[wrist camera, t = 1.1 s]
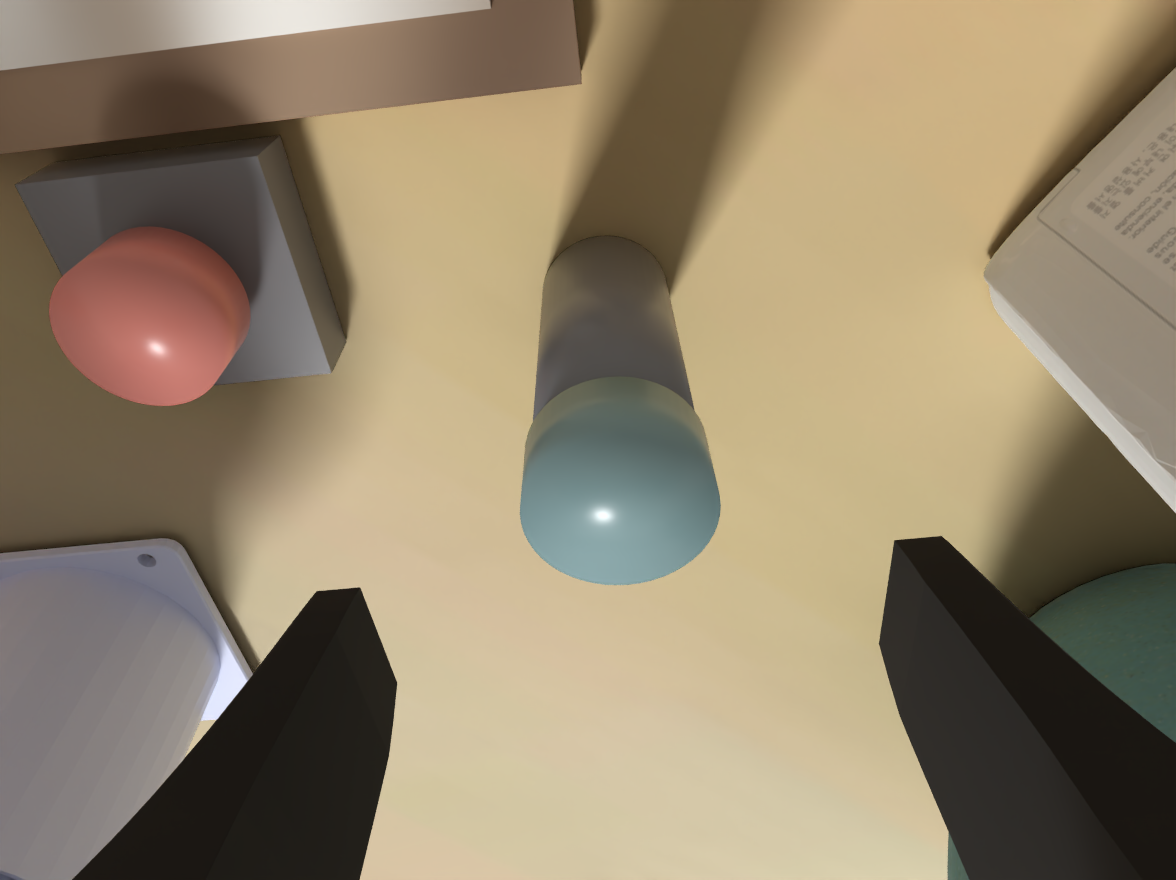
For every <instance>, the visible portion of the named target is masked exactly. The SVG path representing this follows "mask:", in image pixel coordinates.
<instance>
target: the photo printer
mask: <svg viewBox="0 0 1176 880" xmlns="http://www.w3.org/2000/svg"><path fill="white" fill-rule="evenodd" d="M984 279H985V281H986V282H987V283H988V285H989V291H990V296H991V300H992V303H993V306H994V308H995V309H996V311H997V313H998V314H999V316H1000V317H1001V318H1002V320H1003V321H1004V322H1005V323H1006V324H1007V326H1008V327H1009V328H1010V329H1011V330H1012V331H1013V332H1014V333H1015V334H1016V336H1017V337H1018V338H1019V339H1020V340H1021V341H1022V342H1023V343H1024V345H1025V346H1026V347H1027V348H1028V349H1029V350H1030V351H1031V352H1032V354H1033V355H1034V356H1035V357H1036V358H1037V359H1038V360H1039V361H1040V363H1041V364H1042V365H1043V366H1044V367H1045V368H1046V369H1047V370H1048V372H1049V373H1050V374H1051V375H1052V376H1053V377H1054V378H1055V379H1056V381H1057V382H1058V383H1059V384H1060V385H1061V386H1062V387H1063V388H1064V389H1065V391H1066V392H1067V393H1068V394H1069V395H1070V396H1071V397H1072V398H1073V399H1074V400H1075V402H1076V403H1077V404H1078V405H1079V406H1080V407H1081V408H1082V409H1083V410H1084V411H1085V413H1086V414H1087V415H1088V416H1089V417H1090V418H1091V420H1092V421H1093V422H1094V423H1095V424H1096V425H1097V426H1098V427H1099V428H1100V429H1101V430H1102V431H1103V432H1104V433H1105V434H1106V435H1107V436H1108V438H1109V439H1110V440H1111V441H1112V443H1113V444H1114V445H1115V446H1116V448H1117V449H1118V450H1119V451H1120V452H1121V453H1122V454H1123V456H1124V457H1125V458H1126V459H1127V460H1128V461H1129V462H1130V463H1131V464H1132V465H1133V467H1134V468H1135V469H1136V470H1137V471H1138V472H1139V473H1140V474H1141V475H1142V476H1143V478H1144V479H1145V480H1146V481H1147V482H1148V483H1149V484H1150V485H1151V486H1152V487H1153V489H1154V490H1155V491H1156V492H1157V493H1158V494H1159V495H1160V496H1161V497H1162V499H1163V500H1164V501H1165V502H1166V503H1167V504H1168V505H1169V506H1170V507H1171V509H1172V510H1173V511H1174V512H1175V513H1176V68H1174V69H1173V70H1172V71H1171V72H1170V73H1169V74H1168V75H1167V76H1166V77H1165V78H1164V79H1163V80H1162V81H1161V82H1160V83H1159V84H1158V85H1157V86H1156V87H1155V88H1154V89H1153V90H1152V91H1151V92H1150V93H1149V94H1148V95H1147V96H1146V97H1145V98H1144V99H1143V100H1142V101H1141V102H1140V103H1139V104H1138V105H1137V106H1136V107H1135V108H1134V109H1133V110H1132V111H1131V112H1130V113H1129V114H1128V115H1127V116H1126V117H1125V118H1124V119H1123V120H1122V121H1121V122H1120V123H1119V124H1118V125H1117V126H1116V127H1115V128H1114V129H1113V130H1112V131H1111V132H1110V133H1109V134H1108V135H1107V136H1106V137H1105V138H1104V139H1103V140H1102V141H1101V142H1100V143H1099V144H1098V145H1097V146H1096V147H1094V148H1093V149H1092V150H1091V151H1090V152H1089V153H1088V154H1087V155H1086V156H1085V158H1084V159H1083V160H1082V161H1081V162H1080V163H1079V164H1078V165H1077V166H1076V167H1075V168H1074V169H1073V170H1071V171H1070V172H1069V173H1068V174H1067V175H1066V176H1065V177H1064V178H1063V179H1062V180H1061V181H1060V182H1059V183H1058V184H1057V185H1056V186H1055V187H1054V189H1053V190H1052V191H1051V192H1050V193H1049V194H1048V195H1047V196H1046V197H1045V198H1044V199H1043V200H1042V201H1041V202H1040V203H1039V204H1038V205H1037V206H1036V207H1035V208H1034V209H1033V210H1032V212H1031V213H1030V214H1029V215H1028V216H1027V217H1026V218H1025V219H1024V220H1023V221H1022V222H1021V223H1020V224H1019V225H1018V226H1017V228H1016V229H1015V230H1014V231H1013V232H1012V233H1011V234H1010V236H1009V237H1008V238H1007V239H1006V240H1005V242H1004V243H1003V244H1002V245H1001V246H1000V248H999V249H998V250H997V251H996V253H995V254H994V255H993V257H992V258H991V260H990V261H989V263H988V264H987V266H986V268H985V271H984Z"/></svg>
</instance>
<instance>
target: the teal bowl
mask: <svg viewBox="0 0 1176 880" xmlns="http://www.w3.org/2000/svg"><path fill="white" fill-rule="evenodd" d="M1029 619H1030V620H1031V621H1032V622H1033V623H1034V624H1035V625H1036V626H1038V627H1039V628H1040V629H1041V630H1042V631H1043V632H1044V633H1045V634H1046V635H1047V636H1049V637H1050V638H1051V639H1052V640H1053V641H1054V642H1055V643H1057V644H1058V645H1059V646H1060V647H1061V648H1062V649H1063V650H1064V651H1066V652H1067V653H1068V654H1069V655H1070V656H1071V657H1072V658H1073V659H1075V660H1076V661H1077V662H1078V663H1079V664H1080V665H1081V666H1083V667H1084V668H1085V669H1086V670H1087V671H1088V672H1089V673H1091V674H1092V675H1093V676H1094V677H1095V678H1096V679H1098V680H1099V681H1100V682H1101V683H1102V684H1104V685H1105V686H1106V687H1107V688H1108V689H1109V690H1111V691H1112V692H1113V693H1114V694H1115V695H1117V696H1118V697H1119V698H1120V699H1122V700H1123V701H1124V702H1125V703H1126V704H1128V705H1129V706H1130V707H1131V708H1133V709H1134V710H1135V711H1136V712H1138V713H1139V714H1140V715H1141V716H1142V717H1144V718H1145V719H1146V720H1147V721H1149V722H1150V723H1151V724H1152V725H1154V726H1155V727H1156V728H1157V729H1159V730H1160V731H1161V732H1163V733H1164V734H1165V735H1166V736H1168V737H1169V738H1170V739H1172V740H1173V741H1174V742H1175V743H1176V563H1163V564H1155V565H1147V566H1142V567H1137V568H1132V569H1127V570H1123V571H1120V572H1117V573H1114V574H1110V575H1107V576H1104V577H1101V578H1098V579H1096V580H1093V581H1091V582H1088V583H1086V584H1083V585H1081V586H1078V587H1076V588H1075V589H1073V590H1071V591H1069V592H1067V593H1065V594H1063V595H1062V596H1060V597H1058V598H1057V599H1055V600H1053V601H1052V602H1050V603H1049V604H1047V605H1046V606H1044V607H1043V608H1041V609H1040V610H1039V611H1038V612H1036V613H1035V614H1034V615H1033V616H1032V617H1030V618H1029ZM948 880H969V878H968V876H967V873H966V871H965V869H964V866H963V864H962V862H961V859H960V857H959V855H958V852H957V850H956V848H955V845H954V843H953V841H952V838H951V836H950V834H949V839H948Z"/></svg>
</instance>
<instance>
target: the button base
mask: <svg viewBox="0 0 1176 880" xmlns="http://www.w3.org/2000/svg"><path fill="white" fill-rule="evenodd" d="M15 187H16V188H17V190H18V192H19V194H20V196H21V198H22V200H23V202H24V204H25V206H26V208H27V209H28V211H29V213H30V215H31V217H32V219H33V221H34V223H35V225H36V227H37V228H38V230H39V232H40V234H41V236H42V238H43V240H44V242H45V244H46V246H47V248H48V249H49V251H50V253H51V255H52V257H53V259H54V261H55V263H56V265H57V267H58V269H59V270H60V272H61V274H62V276H63V275H64V274H65V273H67V272H68V271H69V270H70V269H72V268H73V267H74V266H75V265H77V264H78V263H79V262H80V261H82V260H83V259H84V258H85V257H86V256H88V255H89V254H90V253H91V252H93V251H94V250H95V249H96V248H98V247H99V246H100V245H101V244H103V243H104V242H105V241H106V240H108V239H109V238H110V237H112V236H113V235H115V234H117V233H119V232H121V231H124V230H127V229H130V228H136V227H148V226H150V227H161V228H167V229H172V230H175V231H178V232H181V233H184V234H186V235H189V236H191V237H193V238H195V239H197V240H199V241H200V242H202V243H204V244H205V245H207V246H208V247H210V248H211V249H213V250H214V251H215V252H216V253H217V254H218V255H220V256H221V257H222V258H223V259H224V260H225V261H226V262H227V263H228V264H229V265H230V267H231V268H232V269H233V270H234V272H235V273H236V274H237V276H238V278H239V279H240V281H241V283H242V285H243V287H244V289H245V291H246V294H247V297H248V300H249V305H250V315H251V320H250V327H249V330H248V334H247V336H246V338H245V340H244V342H243V344H242V345H241V346H240V348H239V349H238V351H237V352H236V354H235V355H234V356H233V358H232V359H231V361H230V362H229V364H228V365H227V367H226V368H225V369H224V371H223V372H222V374H221V375H220V377H219V378H218V380H217V381H216V382H215V384H214V385H223V384H232V383H242V382H252V381H261V380H271V379H281V378H290V377H300V376H310V375H319V374H329V373H332V371H333V369H334V367H335V365H336V363H337V361H338V358H339V356H340V354H341V352H342V350H343V348H344V346H345V344H346V340H345V337H344V334H343V330H342V327H341V324H340V321H339V318H338V315H337V312H336V309H335V306H334V302H333V299H332V296H331V293H330V290H329V287H328V284H327V281H326V278H325V274H324V271H323V268H322V265H321V262H320V259H319V256H318V253H317V250H316V246H315V243H314V240H313V237H312V234H311V231H310V228H309V225H308V222H307V218H306V215H305V212H304V209H303V206H302V203H301V200H300V197H299V194H298V190H297V187H296V184H295V181H294V178H293V175H292V172H291V169H290V165H289V162H288V159H287V156H286V153H285V150H284V147H283V144H282V141H281V137H280V135H278V136H270V137H261V138H253V139H245V140H236V141H228V142H220V143H211V144H203V145H195V146H186V147H178V148H169V149H161V150H153V151H144V152H136V153H128V154H119V155H111V156H103V157H94V158H86V159H78V160H69V161H61V162H54V163H52V164H50V165H48V166H47V167H45V168H43V169H41V170H40V171H38V172H36V173H34V174H33V175H31V176H29V177H27V178H26V179H24V180H22V181H20V182H19V183H17V184H15Z"/></svg>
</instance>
